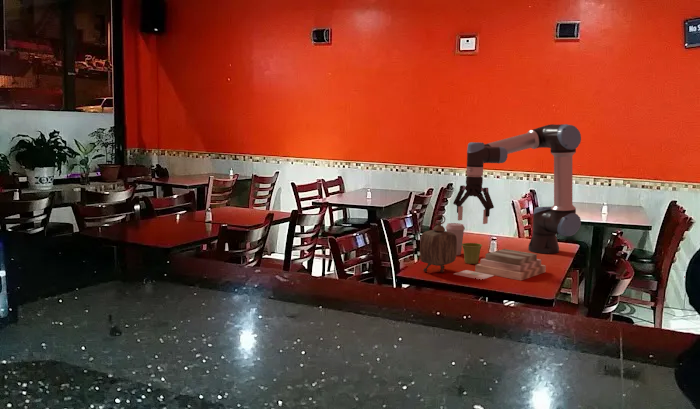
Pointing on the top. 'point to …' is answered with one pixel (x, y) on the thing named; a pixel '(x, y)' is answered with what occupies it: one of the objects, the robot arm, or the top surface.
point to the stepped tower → (511, 264)
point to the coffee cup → (457, 234)
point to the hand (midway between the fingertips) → (472, 221)
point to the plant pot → (471, 252)
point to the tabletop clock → (438, 246)
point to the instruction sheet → (473, 274)
